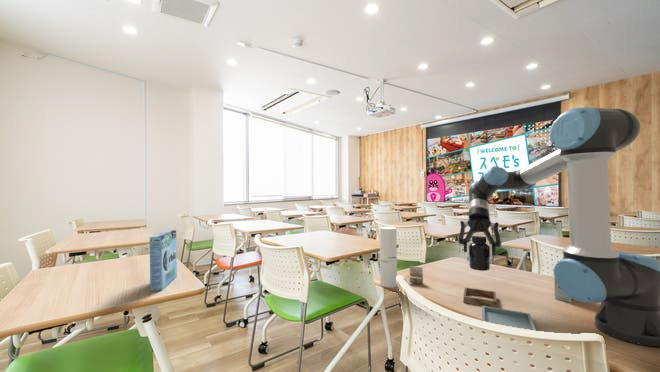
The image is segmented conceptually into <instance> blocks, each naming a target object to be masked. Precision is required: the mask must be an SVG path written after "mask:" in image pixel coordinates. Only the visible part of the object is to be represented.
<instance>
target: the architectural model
mask: <svg viewBox="0 0 660 372" xmlns="http://www.w3.org/2000/svg"><path fill="white" fill-rule="evenodd" d="M405 277H406V278H409V282H410V283H416V284H418V285H419V284H422V285H424V273H423V267H422V266H412V265H409V273H407V274H406V275H405Z"/></svg>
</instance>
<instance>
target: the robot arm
mask: <svg viewBox="0 0 660 372" xmlns="http://www.w3.org/2000/svg"><path fill="white" fill-rule="evenodd" d="M640 131H641V122H640V120H639V118H638V117H637V116H636V115H635V114H633V113H632V112H630V111H629V110H626V109H622V108H604V107H592V106H584V107H575V108H574V107H573V108H569V109H567V110H565V111H564V112H562V113H561V114H560V115H558V116H557V119H555V120H554V121H553V122H552V125H551V127H550V130H549V140H550V142H551V145H553V146H554V148H557V149H556V150H554V151H552V152H551V153H548V154H546V155H545V156H543V157H541V158H539V159H537V160H535V161H534V162H532V163H530V164H528V165H526V166H524V167H521V168H520V169H518V170H517V171H507V169H504V168H503V167H499V166H498V165H497V166H495V165H493V166H491V167H490V168H489V169H488V170H487V171H486V172H485V173H484V174H483V176H482V177H481V178H480V179H479V181H475V182H472V183H471V184H470V186H469V189H468V220H467V221H463V220H460V222H459V223H460V230H459V236H458V243H459V244H460V245H463V253H466V261H467V262H469V245H470V242H471V240H472V236H474V234H475V232H483V234H484V236H485V237H486V240H487V241H488V243H489V245H488V246H489V249H490V264H493V255H495V256H496V254H497V253H496V252H497V251H496V248H501V246H502V245H501V244H502V243H501V236H500V233H499V222H492V221H491V220H490V206H489V205H490V204H489V203H490V202H489V201H490V200H489V199H490V197H492V196H493V195H494V194H495V193H496V192H497V191H513V190H514V191H519V190H520V191H525V190H531V189H533V188H534V187H535V186H536V185H537V183H539V182H541V181H544V180H546V179H549V178H551V177H552V176H555V175H557V174H559V173H560V174H561V172H564V171H567V195H568V196H567V197H568V200H567V201H568V226H569V227H568V230H569V231H568V232H569V245H567V246H566V247H564V248H563V249H562V251H563V253H562V254H563V256H562V258H563V259H561V260H558V262H557V263H555V265H554V266H553V276H554V281H555V280H556V282H557V284H558V286H559V287H560V288H561V289H562V290H563V292H564V293H565V294H567V295H568V296H569V297H571V298H572V299H573V300H574V301H577V302H581V303H587V304H588V303H593V304H595V303H596V304H597V303H598V304H599V303H600V305H599V306H598V309H597V311H596V313H595V315H594V326H595V327H596V329H598V330H600V331H601V332H602V333H604V334H607V335H609V336H610V337H611V336H612V337H613V338H615V339H619V340H622V341H625V340H626V341H625V342H628V341H631V342H630V343H632V342H635V343H634V344H636V343H639V344H638V345H640V344H643V345H642V346H645V345H649V346H648V347H652V346H658V347H657V348H660V261H659V260H658V259H656V258H655V257H652V256H650V255H649V256H648V255H642V254H639V253H632V252H628V251H627V252H626V251H620V250H614V249H612V234H611V233H612V231H611V209H610V207H611V206H610V203H611V201H610V177H609V175H610V173H609V160H610V159H611V158H612V157H614V156H615V155H616V153H617V152H619V151H620V150H622V149H624V148H626V147H628V146H629V145H631V144H632V143H633V142H634V141H635V140H636V139H637V138H638V136H639V135H640ZM467 226H468V227H469V230H468V232H467V234H466V236H465V231H466V230H465V229H466V228H467ZM490 227H491V229H492V230H493V234H494V237H493V236H492V234H491V232H490V231H489V228H490ZM464 237H465V238H464ZM494 239H495V240H494Z"/></svg>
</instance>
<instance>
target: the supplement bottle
mask: <svg viewBox="0 0 660 372" xmlns="http://www.w3.org/2000/svg"><path fill="white" fill-rule="evenodd" d="M487 241H488V240H487V237H486V236H483V235H472V237H471V243H469V261H468V264H469V268H470V269H472V270H475V271H479V272H480V271H481V272H485V271H490V269H491V268H490V267H491V265H490V264H491V263H490V249H489V245H488V243H487Z"/></svg>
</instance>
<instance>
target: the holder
mask: <svg viewBox="0 0 660 372" xmlns="http://www.w3.org/2000/svg"><path fill="white" fill-rule="evenodd" d="M468 295H472V296H473V295H474V296H480V297H487V298H493V300H492V299H487V298H479V297H472V296H468ZM462 300H463V303H465V304H470V305H476V306H481V307H482V306H487V307H493V308H498V307H497V306H498V302H497V293H496V291H493V290H486V289H478V288H472V287H471V288H470V287H466V286H465V287H464V290H463V299H462Z"/></svg>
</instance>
